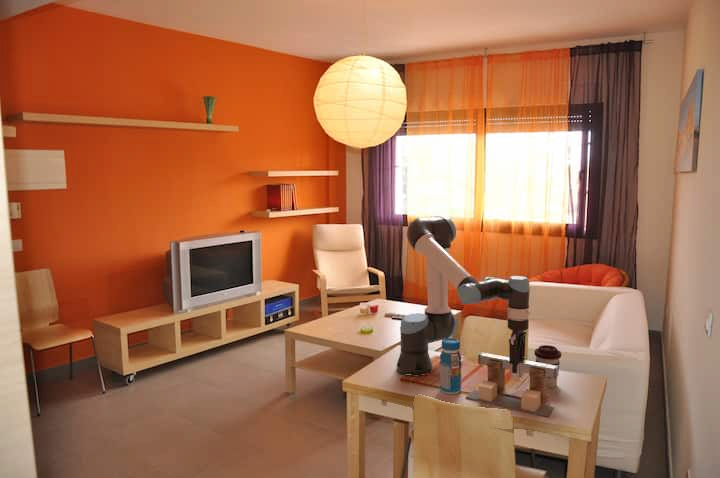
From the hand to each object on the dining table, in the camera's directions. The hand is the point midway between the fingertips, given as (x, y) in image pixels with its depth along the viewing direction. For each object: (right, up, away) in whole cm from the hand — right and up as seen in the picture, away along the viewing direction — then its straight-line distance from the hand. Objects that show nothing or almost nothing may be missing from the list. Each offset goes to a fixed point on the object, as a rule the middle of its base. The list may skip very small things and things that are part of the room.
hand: (516, 378), depth 208 cm
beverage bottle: (-24, -6, +6) cm, 26 cm away
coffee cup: (+15, -5, +10) cm, 19 cm away
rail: (0, +4, -1) cm, 4 cm away
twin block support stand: (-5, -7, -7) cm, 11 cm away
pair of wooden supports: (0, -6, +1) cm, 6 cm away
